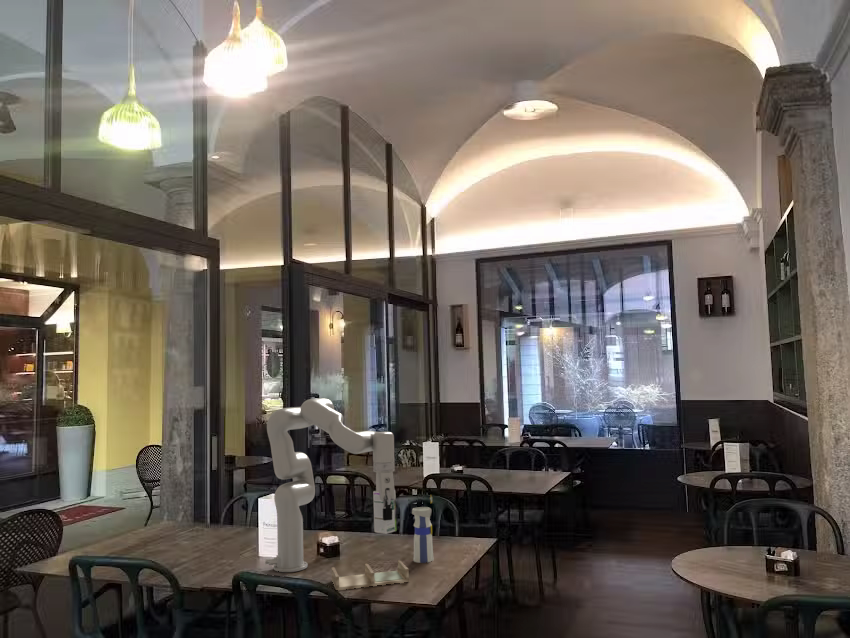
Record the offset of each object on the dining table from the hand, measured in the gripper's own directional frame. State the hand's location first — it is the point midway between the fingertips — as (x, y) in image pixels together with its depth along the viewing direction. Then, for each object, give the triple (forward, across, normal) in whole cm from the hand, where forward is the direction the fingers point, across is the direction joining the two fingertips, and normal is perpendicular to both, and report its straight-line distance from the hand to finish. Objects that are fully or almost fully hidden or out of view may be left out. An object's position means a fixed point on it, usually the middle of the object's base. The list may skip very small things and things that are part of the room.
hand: (385, 517), depth 237 cm
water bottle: (+22, +20, -19) cm, 35 cm away
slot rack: (+21, 0, +6) cm, 22 cm away
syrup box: (+5, 0, 0) cm, 5 cm away
